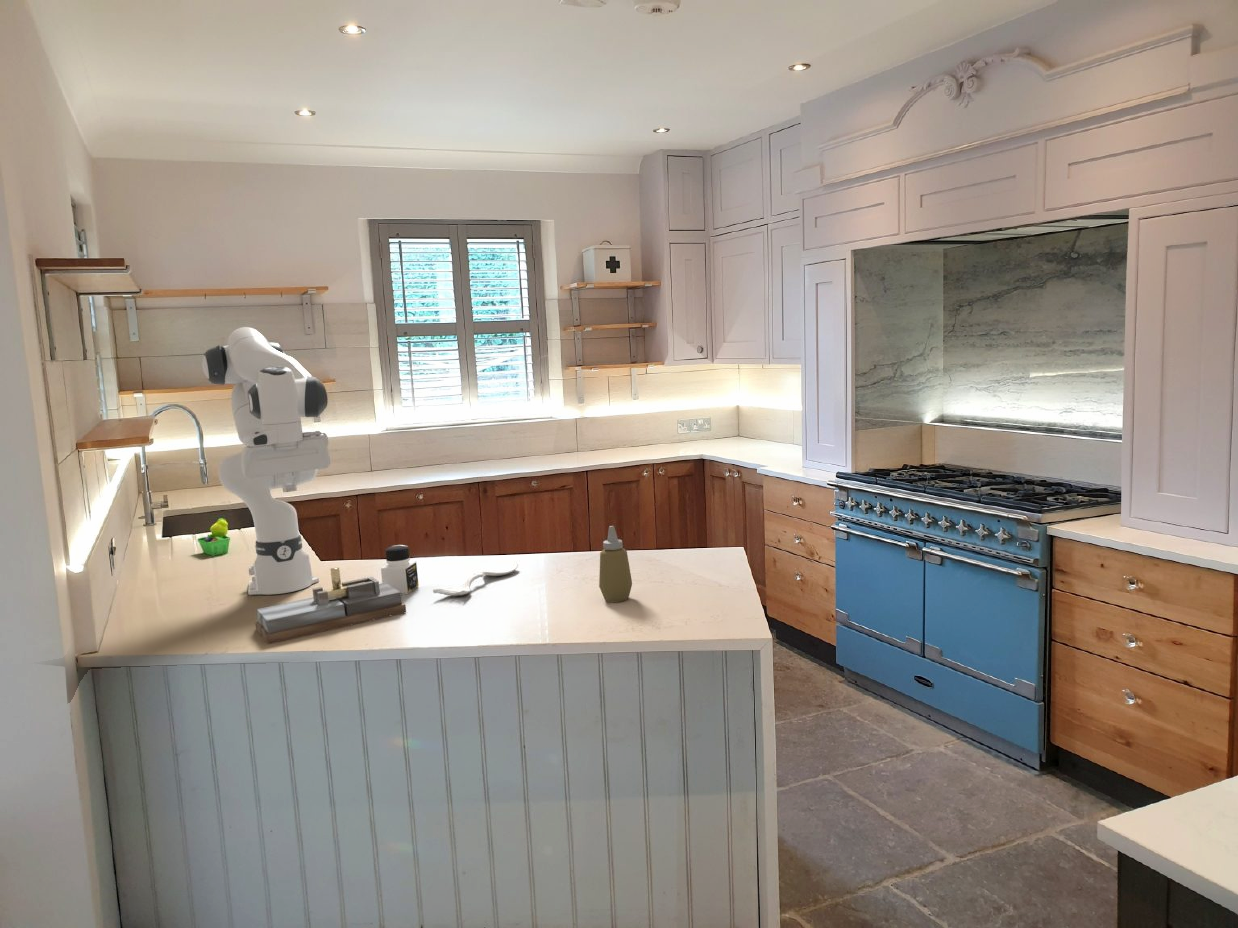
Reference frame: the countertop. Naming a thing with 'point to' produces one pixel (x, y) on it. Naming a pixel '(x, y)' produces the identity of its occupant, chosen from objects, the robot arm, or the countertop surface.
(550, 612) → the countertop surface
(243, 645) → the countertop surface
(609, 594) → the squeeze bottle
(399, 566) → the medicine bottle
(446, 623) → the countertop surface
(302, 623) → the sliding barrel latch
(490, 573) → the white fork
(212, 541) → the fruit basket
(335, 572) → the bolt
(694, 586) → the countertop surface
